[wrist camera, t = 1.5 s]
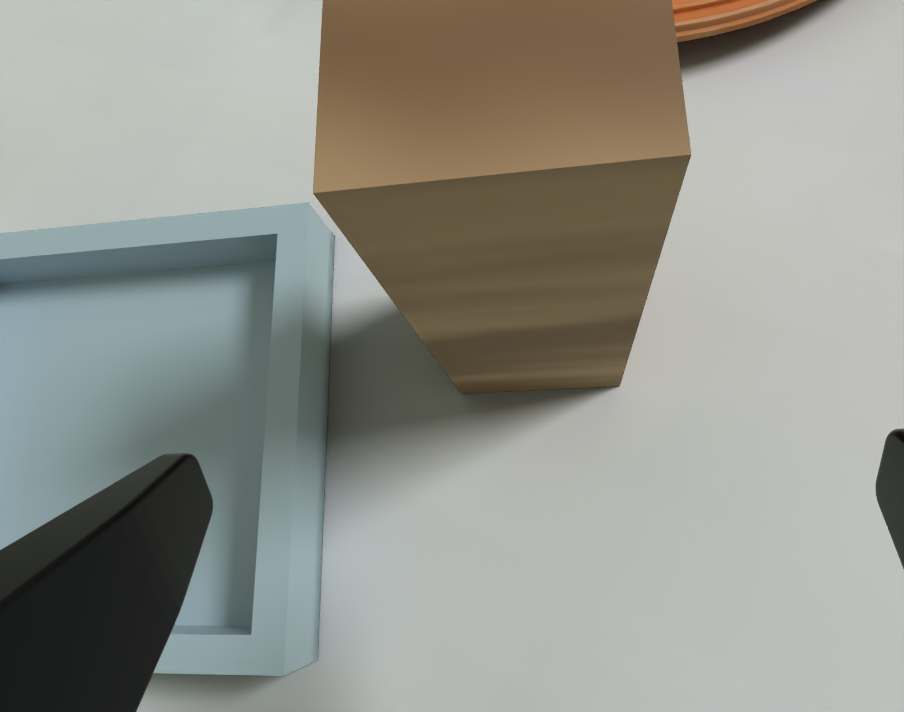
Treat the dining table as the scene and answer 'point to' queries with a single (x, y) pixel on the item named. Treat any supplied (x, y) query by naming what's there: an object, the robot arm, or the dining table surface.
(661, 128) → the walnut block
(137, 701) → the robot arm
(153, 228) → the tray
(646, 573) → the dining table surface
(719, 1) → the ring
